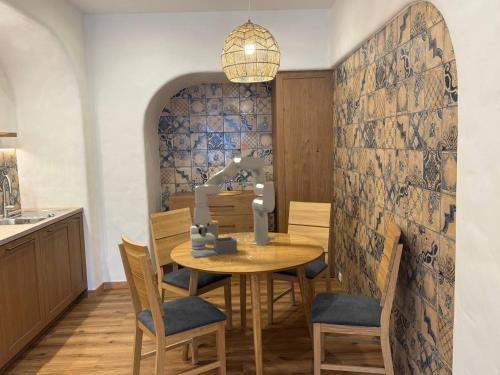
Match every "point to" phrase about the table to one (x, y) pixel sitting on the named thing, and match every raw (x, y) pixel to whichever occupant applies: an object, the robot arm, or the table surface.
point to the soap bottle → (212, 230)
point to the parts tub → (225, 245)
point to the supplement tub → (195, 243)
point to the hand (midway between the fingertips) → (202, 234)
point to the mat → (203, 253)
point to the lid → (203, 235)
